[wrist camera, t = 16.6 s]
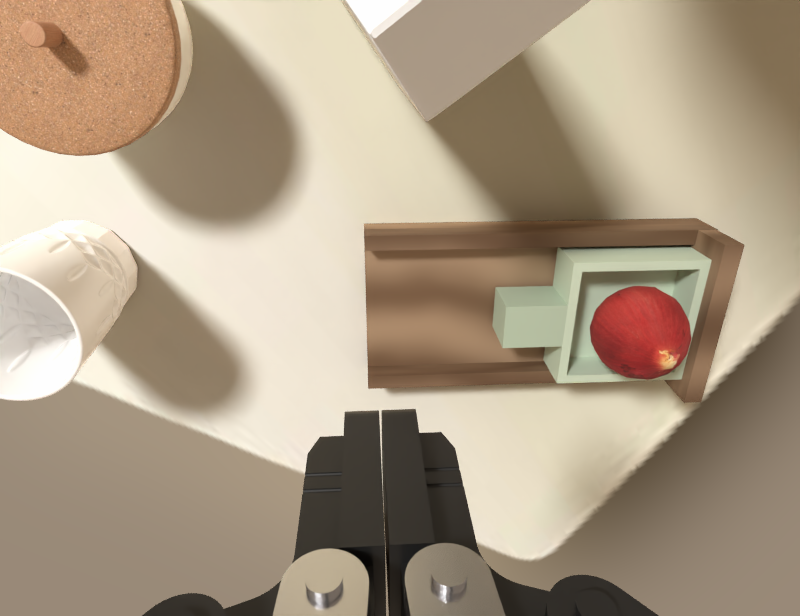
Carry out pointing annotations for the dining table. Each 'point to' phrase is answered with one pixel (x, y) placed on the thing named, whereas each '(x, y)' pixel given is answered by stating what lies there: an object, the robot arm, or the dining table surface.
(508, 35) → the milk carton
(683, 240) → the rail
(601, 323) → the onion
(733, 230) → the dining table surface
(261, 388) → the dining table surface
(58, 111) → the lidded jar
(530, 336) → the sled
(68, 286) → the white cup
